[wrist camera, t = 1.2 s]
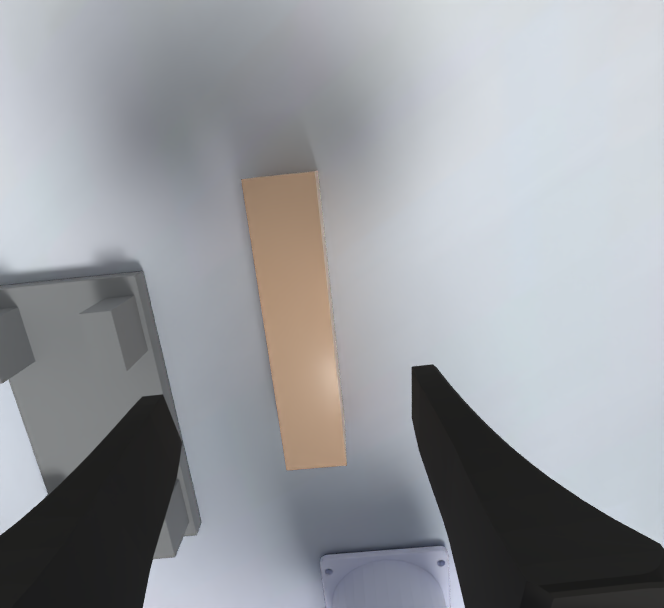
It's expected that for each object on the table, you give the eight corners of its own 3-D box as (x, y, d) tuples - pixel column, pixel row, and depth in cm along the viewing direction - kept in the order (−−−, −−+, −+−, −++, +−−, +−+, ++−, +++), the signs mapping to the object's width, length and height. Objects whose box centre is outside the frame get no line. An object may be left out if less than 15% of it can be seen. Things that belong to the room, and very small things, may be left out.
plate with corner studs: (201, 522, 28) (183, 571, 25) (75, 533, 28) (40, 582, 25) (143, 270, 23) (111, 288, 20) (-8, 286, 24) (-65, 306, 20)
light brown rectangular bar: (344, 421, 26) (346, 465, 22) (293, 426, 26) (286, 470, 22) (318, 170, 22) (314, 171, 18) (257, 176, 22) (241, 179, 18)
